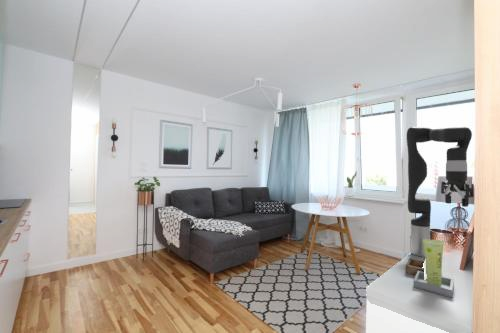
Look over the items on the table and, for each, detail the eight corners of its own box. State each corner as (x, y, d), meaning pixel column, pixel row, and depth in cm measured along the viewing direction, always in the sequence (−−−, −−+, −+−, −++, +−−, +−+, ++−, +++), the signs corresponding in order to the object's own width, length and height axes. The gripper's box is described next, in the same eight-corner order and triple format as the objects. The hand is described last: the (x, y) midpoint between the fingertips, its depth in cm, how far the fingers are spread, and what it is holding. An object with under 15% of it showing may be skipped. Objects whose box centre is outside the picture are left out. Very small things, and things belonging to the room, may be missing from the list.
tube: (435, 289, 98) (434, 242, 98) (422, 283, 103) (422, 238, 103) (444, 287, 100) (444, 240, 100) (432, 281, 105) (431, 237, 105)
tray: (413, 287, 101) (413, 280, 101) (418, 277, 110) (417, 270, 110) (452, 298, 93) (452, 290, 93) (453, 286, 102) (453, 279, 102)
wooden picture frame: (405, 273, 114) (405, 265, 114) (409, 265, 123) (409, 258, 123) (437, 281, 106) (437, 272, 106) (439, 272, 115) (439, 264, 115)
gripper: (479, 170, 103) (479, 207, 103) (450, 169, 117) (450, 202, 118) (462, 170, 103) (462, 207, 103) (436, 169, 117) (436, 202, 117)
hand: (456, 204), depth 110 cm, fingers open, 8 cm apart
